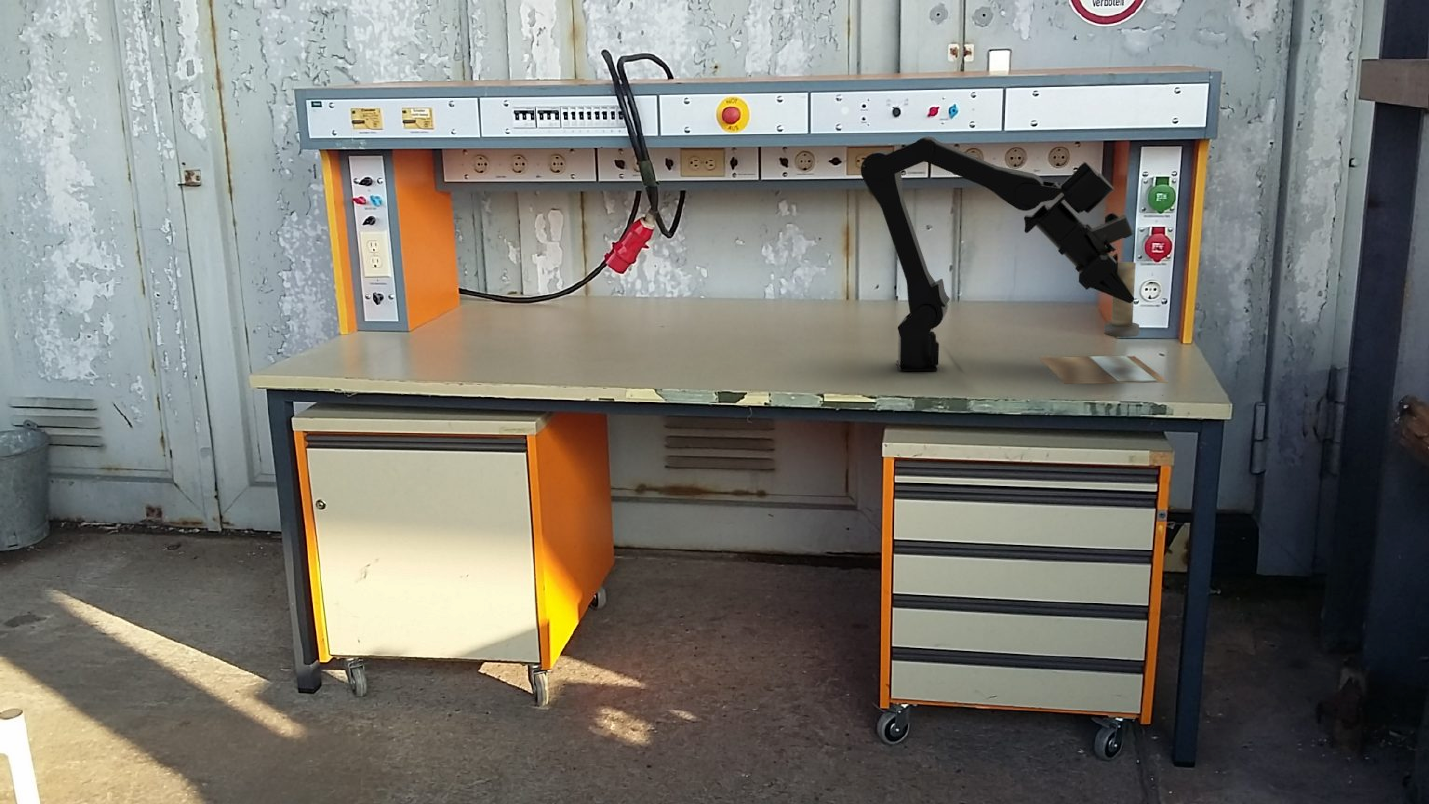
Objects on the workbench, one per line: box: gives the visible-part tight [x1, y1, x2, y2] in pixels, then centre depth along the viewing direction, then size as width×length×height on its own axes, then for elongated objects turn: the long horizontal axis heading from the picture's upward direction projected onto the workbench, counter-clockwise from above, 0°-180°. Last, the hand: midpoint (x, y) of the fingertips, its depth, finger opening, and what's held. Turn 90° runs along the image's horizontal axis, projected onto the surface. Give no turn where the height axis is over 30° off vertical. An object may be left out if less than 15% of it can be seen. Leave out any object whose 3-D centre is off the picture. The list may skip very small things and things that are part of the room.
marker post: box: [1103, 261, 1140, 338], centre depth 206 cm, size 6×6×12 cm
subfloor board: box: [1039, 355, 1169, 385], centre depth 211 cm, size 17×18×1 cm
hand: (1132, 299), depth 205 cm, fingers closed on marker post, 3 cm apart
